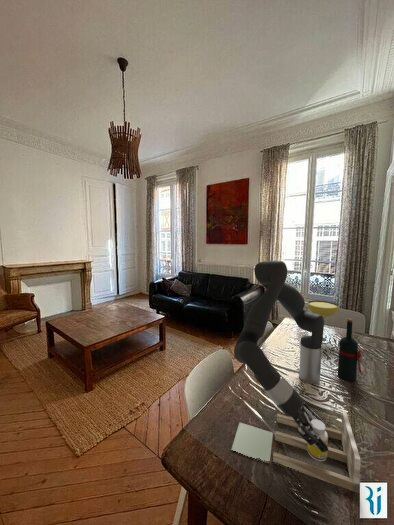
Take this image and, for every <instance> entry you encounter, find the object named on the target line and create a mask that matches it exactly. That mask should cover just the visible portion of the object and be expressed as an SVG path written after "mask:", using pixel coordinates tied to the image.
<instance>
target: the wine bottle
mask: <svg viewBox="0 0 394 525" xmlns="http://www.w3.org/2000/svg"><path fill="white" fill-rule="evenodd" d="M345 333H346V335H345V336H344V337H341V339H339V343H338V344H339V346H338V361H337V377H338V379H340V380H342V381H343V382H347V383H352V382H353V383H356V382H357V374H358V373H357V371H359V373H360V376H362V375H363V372H362V370H361V362H360V358H361V357H362V353H361V352H362V351H361V350H358V349H359V344H358V341H357V340H355V339H354V338H353V337H352V336H353V335H352V334H353V318H349V317H348V318H347V321H346V332H345ZM357 369H358V370H357Z"/></svg>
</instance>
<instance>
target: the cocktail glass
mask: <svg viewBox="0 0 394 525" xmlns="http://www.w3.org/2000/svg"><path fill="white" fill-rule="evenodd" d="M307 309H308V310H309V312H311V313H315V314H319V315H322V316H323V318H324V319H325V318H326V317H331V316H333V315H336V314H337V313H338V311H339V305H338V304H336V303H334V302H330V301H325V300H310V301H307ZM325 338H326V337H325ZM325 338H323V340H322V341H326V339H325Z"/></svg>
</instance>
